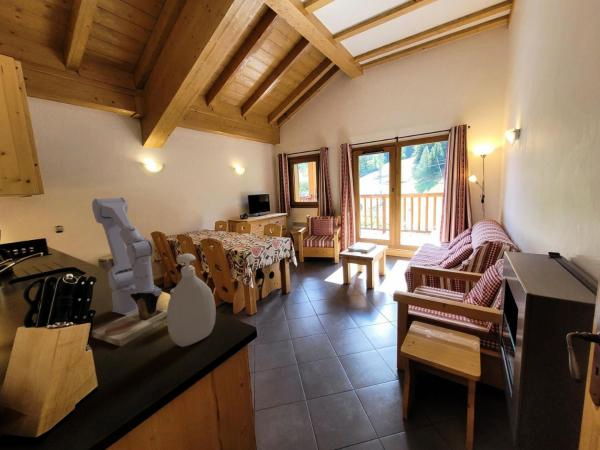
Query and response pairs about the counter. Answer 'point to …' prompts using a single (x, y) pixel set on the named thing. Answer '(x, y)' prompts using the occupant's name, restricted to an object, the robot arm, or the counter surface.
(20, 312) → the counter surface
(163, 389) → the counter surface
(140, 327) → the holder board
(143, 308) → the walnut block
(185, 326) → the soap bottle
